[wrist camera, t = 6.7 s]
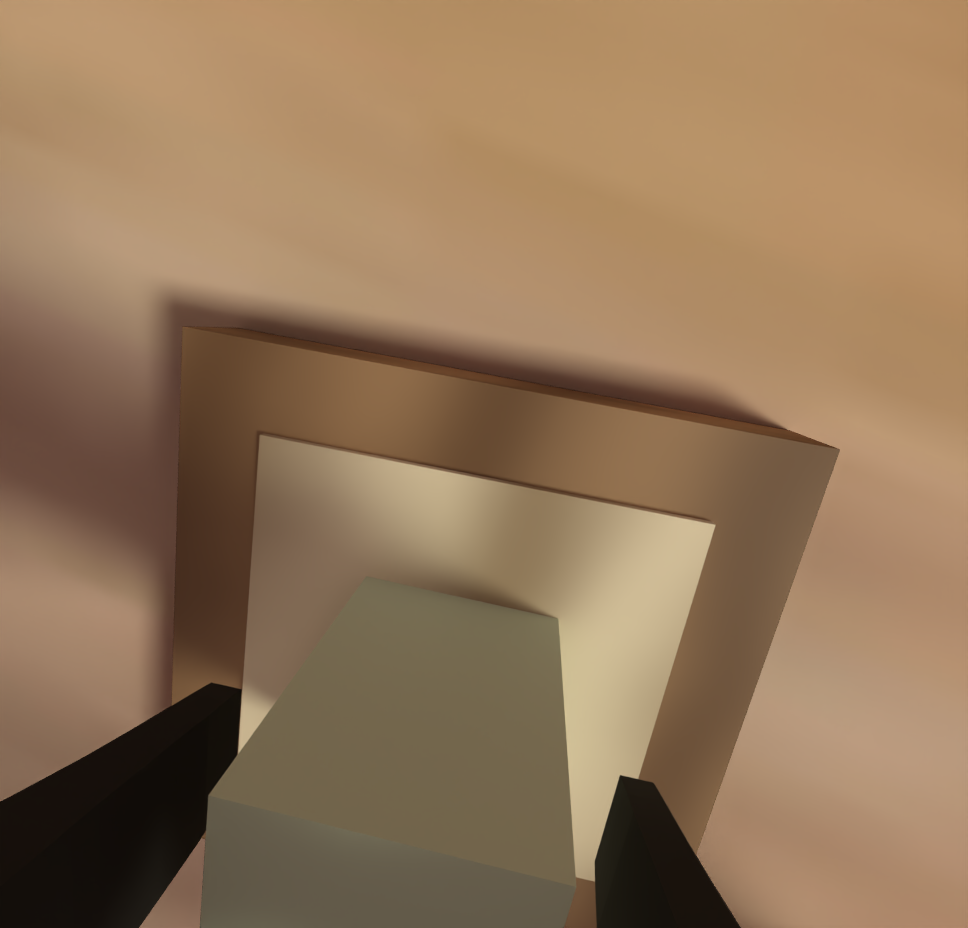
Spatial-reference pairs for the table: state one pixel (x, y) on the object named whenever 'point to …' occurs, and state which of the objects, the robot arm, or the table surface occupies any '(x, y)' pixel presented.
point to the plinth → (492, 543)
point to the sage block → (403, 777)
